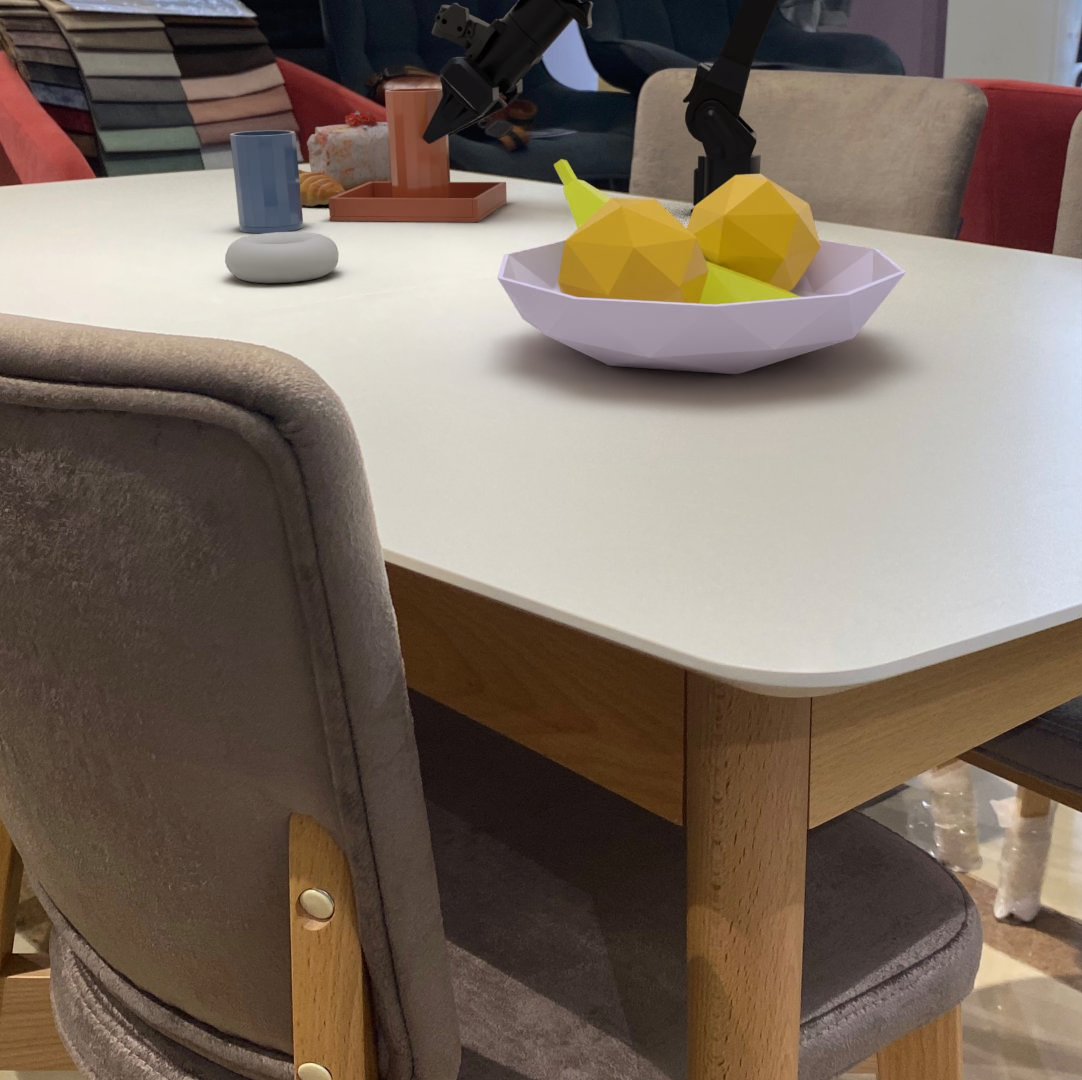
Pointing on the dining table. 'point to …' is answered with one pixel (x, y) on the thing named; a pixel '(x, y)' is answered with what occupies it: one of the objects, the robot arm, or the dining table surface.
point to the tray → (418, 204)
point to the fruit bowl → (696, 280)
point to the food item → (351, 151)
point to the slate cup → (267, 181)
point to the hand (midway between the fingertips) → (435, 137)
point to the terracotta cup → (416, 145)
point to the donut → (281, 257)
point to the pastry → (317, 188)
